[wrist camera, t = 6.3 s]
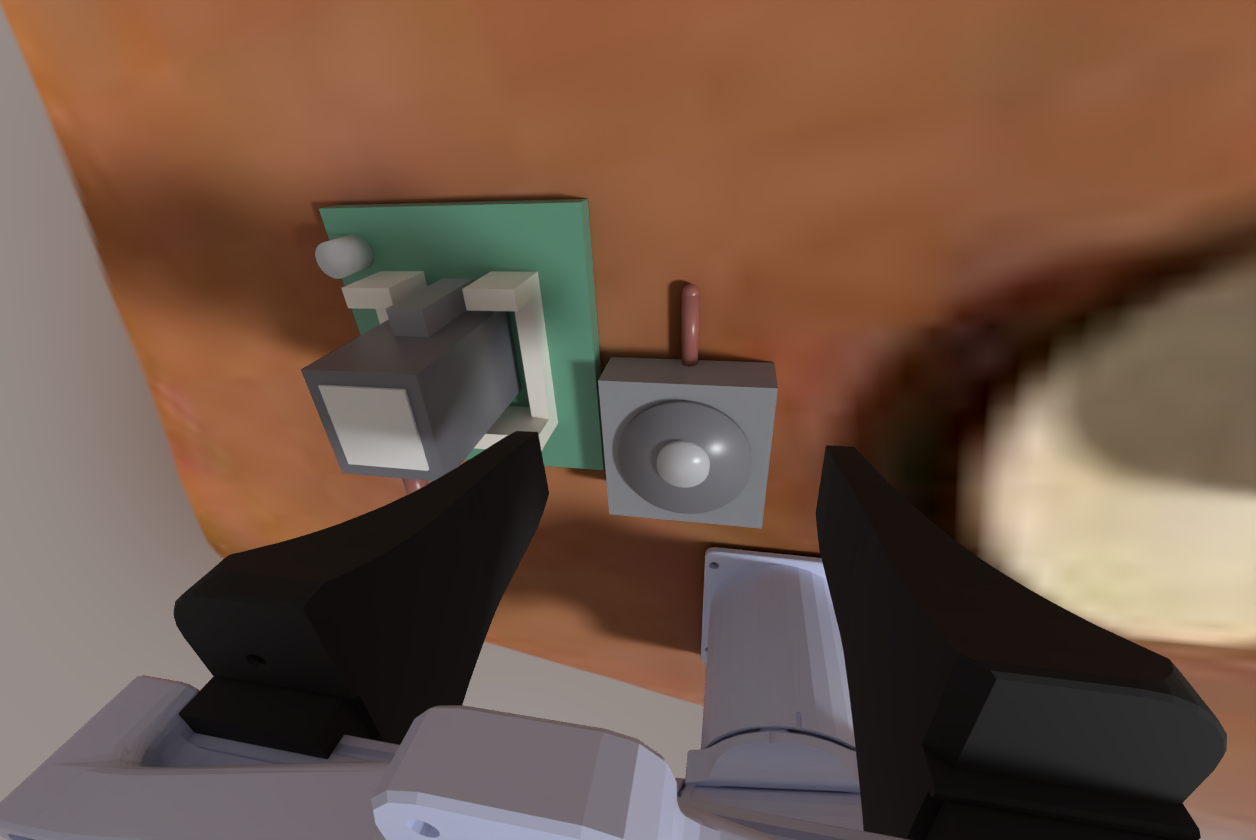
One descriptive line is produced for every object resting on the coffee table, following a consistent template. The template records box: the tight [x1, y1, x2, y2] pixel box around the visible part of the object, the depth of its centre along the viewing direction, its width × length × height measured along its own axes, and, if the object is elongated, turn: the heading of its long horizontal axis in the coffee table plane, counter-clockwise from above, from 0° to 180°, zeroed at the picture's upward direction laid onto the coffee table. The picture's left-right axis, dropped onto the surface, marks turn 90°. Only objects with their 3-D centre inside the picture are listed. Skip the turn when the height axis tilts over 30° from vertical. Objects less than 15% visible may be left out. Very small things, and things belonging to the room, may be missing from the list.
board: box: [315, 199, 605, 470], centre depth 22 cm, size 12×11×4 cm
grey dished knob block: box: [598, 284, 778, 528], centre depth 22 cm, size 10×7×3 cm
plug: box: [301, 278, 522, 495], centre depth 20 cm, size 8×4×7 cm, turn 2°
